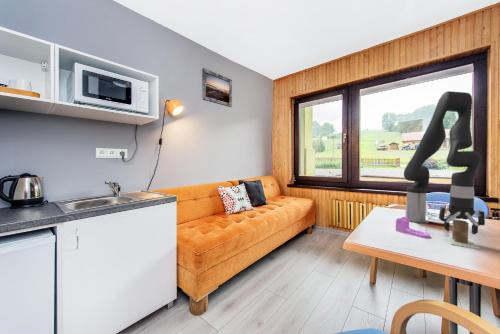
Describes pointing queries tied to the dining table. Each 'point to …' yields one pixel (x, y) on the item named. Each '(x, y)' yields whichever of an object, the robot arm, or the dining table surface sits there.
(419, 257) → the dining table surface
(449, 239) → the mat
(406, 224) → the bracket
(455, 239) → the walnut block
